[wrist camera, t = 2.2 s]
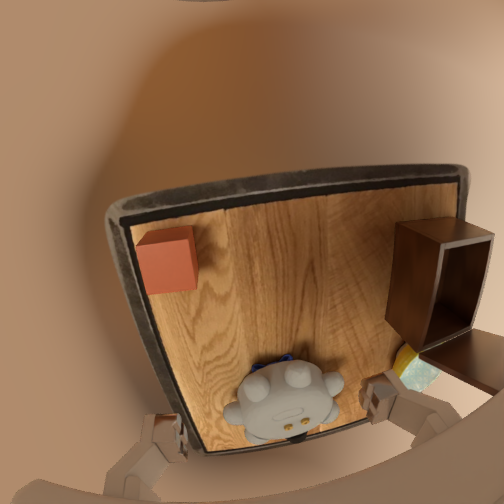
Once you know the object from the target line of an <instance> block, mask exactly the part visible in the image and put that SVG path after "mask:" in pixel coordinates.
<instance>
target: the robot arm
mask: <svg viewBox="0 0 504 504" xmlns="http://www.w3.org/2000/svg"><path fill="white" fill-rule="evenodd" d="M361 386H362V388H361V389H360V391H359V395H358V397H359V402H360V405H361V407H362V409H364V410H367V414H366V416H367V417H368V419H369V421H370V422H371V424H372V425H373V424H376V423H379V422H381V421H384V420H387V419H388V420H389V421H390V422H392V423H394V424H396V425H397V426H399V427H401V428H402V429H404V430H406V431H408V432H410V433H411V434H413V435H415V436H416V437H415V438H414V440H413V442H412V444H411V447H412V449H410V450H408V451H406V452H404V453H402V454H400V455H398V456H395V457H393V458H391V459H389V460H386V461H384V462H382V463H379V464H377V465H374V466H372V467H369V468H367V469H364V470H362V471H359V472H356V473H354V474H351V475H348V476H345V477H342V478H339V479H335V480H332V481H329V482H325V483H322V484H318V485H315V486H311V487H307V488H303V489H299V490H295V491H289V492H285V493H280V494H274V495H269V496H262V497H256V498H248V499H240V500H230V501H217V502H190V503H189V502H185V503H184V502H161V499H160V497H158V496H157V495H156V494H155V493H154V492H153V491H152V490H151V489H152V488H153V486H154V485H155V483H156V482H157V481H158V479H159V478H160V476H161V475H162V474H163V472H164V471H165V469H166V468H167V466H168V465H169V463H177V462H187V453H188V452H187V449H186V447H185V445H186V444H187V443H188V437H187V430H186V427H185V425H184V424H183V423H182V422H181V417H180V415H179V414H146V415H145V416H144V420H143V426H142V432H141V438H140V443H136V444H135V445H134V446H133V447H132V448H131V449H130V450H129V451H128V452H127V453H126V454H125V455H124V456H123V457H122V458H121V459H120V460H119V461H118V462H117V463H116V464H115V465H114V466H113V467H112V468H111V469H110V470H109V471H108V472H107V475H106V481H105V486H104V492H103V495H100V494H94V493H90V492H85V491H81V490H77V489H73V488H69V487H65V486H61V485H58V484H54V483H51V482H48V481H45V480H42V479H36V480H34V481H32V482H30V483H29V484H27V485H25V486H24V487H23V488H21V489H20V490H18V491H17V492H16V494H15V495H14V497H13V499H12V502H11V503H10V504H504V388H503V389H502V390H501V391H499V392H498V393H497V394H496V395H494V396H493V397H492V398H491V399H489V400H488V401H487V402H486V403H484V404H483V405H482V406H480V407H479V408H477V409H476V410H475V411H473V412H472V413H470V414H469V415H468V416H466V417H465V418H463V419H462V418H461V417H460V415H459V414H458V413H457V412H456V410H455V409H454V408H453V407H452V406H451V404H450V403H448V402H445V401H442V400H439V399H436V398H434V397H431V396H428V395H425V394H423V393H420V392H417V391H415V390H412V389H410V390H408V388H407V387H406V386H405V385H404V383H403V382H402V381H401V380H400V378H399V377H398V376H397V375H396V373H395V372H394V371H393V370H392V369H390V370H387V371H384V372H382V373H378V374H375V375H372V376H370V377H367V378H364V379H362V381H361Z"/></svg>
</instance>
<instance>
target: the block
mask: <svg viewBox="0 0 504 504" xmlns="http://www.w3.org/2000/svg"><path fill="white" fill-rule="evenodd" d="M136 251H137V256H138V260H139V264H140V268H141V273H142V277H143V281H144V285H145V288H146V292H147V295H151V294H160V293H169V292H178V291H186V290H194V289H197V283H198V272H199V267H198V261H197V255H196V248H195V242H194V236H193V229H192V225H191V226H184V227H177V228H170V229H163V230H156V231H149V232H146V234H145V235H144V236H143V238H142V239H141V240H140V241H139V243H138V244H137V245H136Z"/></svg>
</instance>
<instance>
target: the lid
mask: <svg viewBox="0 0 504 504" xmlns="http://www.w3.org/2000/svg"><path fill="white" fill-rule="evenodd" d="M418 358H419V359H420V360H422V361H424V362H426V363H428V364H430V365H432V366H434V367H436V368H438V369H440V370H442V371H444V372H446V373H448V374H450V375H452V376H454V377H456V378H458V379H460V380H462V381H464V382H466V383H468V384H470V385H472V386H474V387H476V388H478V389H480V390H482V391H484V392H486V393H488V394H490V395H492V396H494V395H496V394H497V393H498V392H499V391H501V390H502V389H503V388H504V337H503V336H499V335H495V334H491V333H488V332H485V331H481V330H477V329H471V330H469V331H467V332H465V333H463V334H461V335H459V336H457V337H455V338H453V339H451V340H448V341H446V342H444V343H442V344H439V345H437V346H435V347H432V348H430V349H428V350H425V351H423V352H420V353H419V357H418Z"/></svg>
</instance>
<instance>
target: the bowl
mask: <svg viewBox="0 0 504 504" xmlns="http://www.w3.org/2000/svg"><path fill="white" fill-rule="evenodd" d="M443 343H444V342H443ZM441 344H442V343H441ZM436 346H437V345H436ZM434 347H435V346H434ZM429 349H430V348H429ZM427 350H428V349H427ZM424 351H425V350H424ZM422 352H423V351H422ZM419 353H420V352H419ZM419 353H416V352H415V351H414V350H413V349H412V348H411V347H410V346H409V345H408V344H407V343H405V344H404V345H403V346H401V348H400V349H399V350H398V352H397V354H396V360H395V362H394V365H393V369H392V370H393V371H394V372H395V373H396V375H397V376H398V377H399V378H400V380H401V381H402V382H403V383H404V385H405V386H406V387H407V388H408V390H410V389H412V390H415V391H417V392H421V391H423V390H424V389H426V388H427V387H428V386H429V385H430V384H432V383H433V382H434V381H435V380H436V379H437V377H438V376H439V375H440V374H441V372H442V370H440V369H438V368H436V367H434V366H432V365H430V364H428V363H426V362H424V361H422V360H420V359H419V358H418V357H419Z"/></svg>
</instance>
